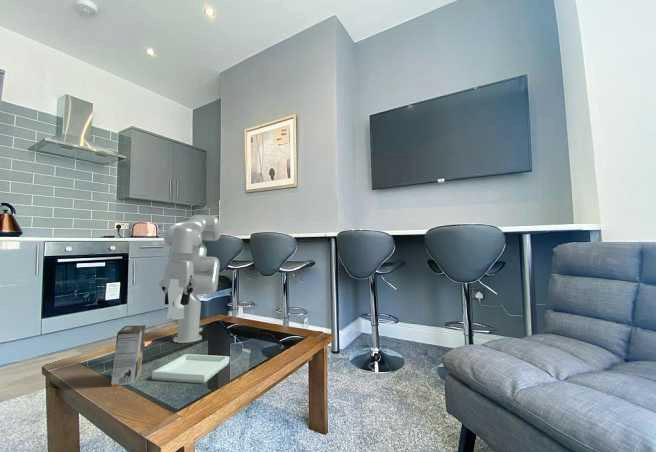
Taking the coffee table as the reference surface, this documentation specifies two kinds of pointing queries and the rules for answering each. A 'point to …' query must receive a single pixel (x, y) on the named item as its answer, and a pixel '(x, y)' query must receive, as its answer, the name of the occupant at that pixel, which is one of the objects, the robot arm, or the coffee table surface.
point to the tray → (191, 368)
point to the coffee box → (128, 355)
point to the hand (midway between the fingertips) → (176, 304)
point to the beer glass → (175, 300)
